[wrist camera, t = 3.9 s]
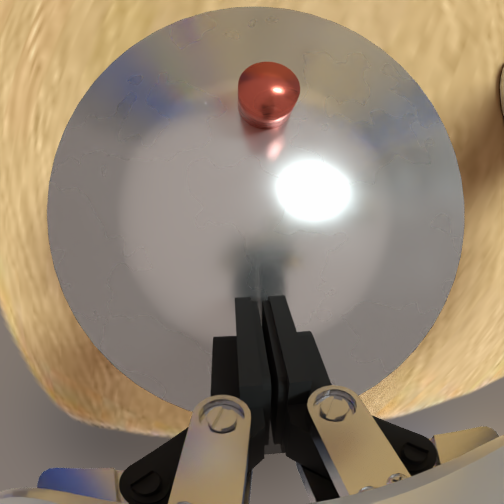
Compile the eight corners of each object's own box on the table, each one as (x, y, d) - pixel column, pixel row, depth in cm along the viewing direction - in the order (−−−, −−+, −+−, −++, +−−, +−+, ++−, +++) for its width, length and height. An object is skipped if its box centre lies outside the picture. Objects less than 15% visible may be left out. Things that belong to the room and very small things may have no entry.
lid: (420, 47, 12) (445, 22, 9) (429, 409, 13) (455, 434, 10) (83, 44, 11) (60, 16, 8) (95, 430, 12) (75, 461, 9)
